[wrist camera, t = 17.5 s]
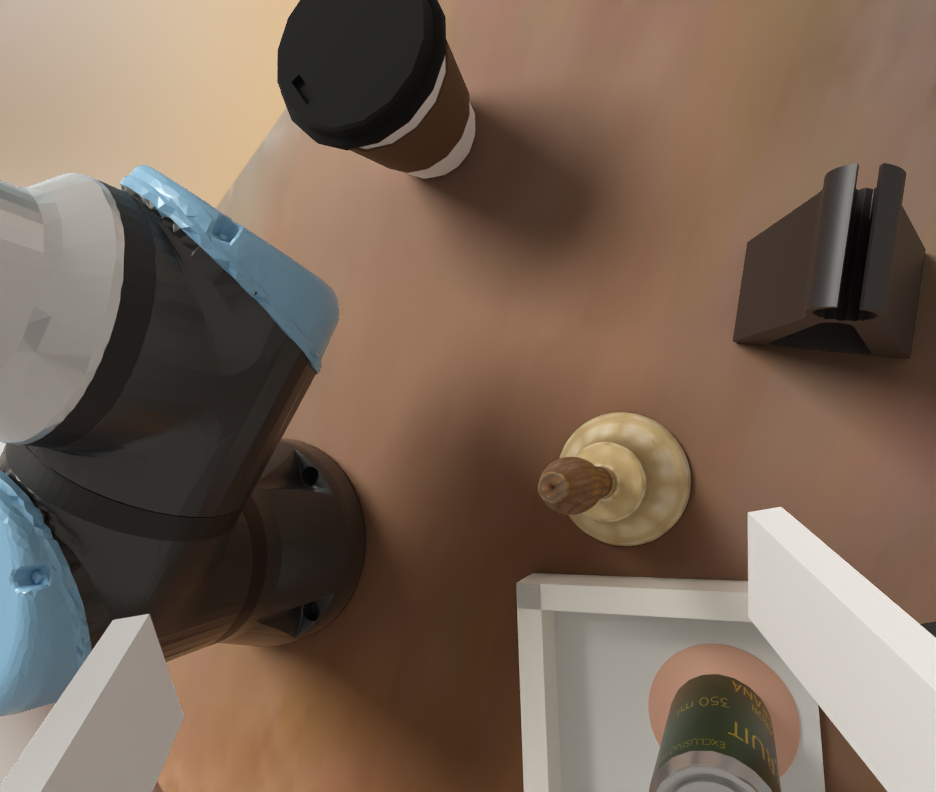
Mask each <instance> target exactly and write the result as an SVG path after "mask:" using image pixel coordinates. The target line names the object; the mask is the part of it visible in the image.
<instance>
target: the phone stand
mask: <svg viewBox="0 0 936 792" xmlns="http://www.w3.org/2000/svg"><path fill="white" fill-rule="evenodd" d="M858 169H859V165H858V163H857V164H850V165H845V166H842V167H838V168H836V169H833V170H831V171H830V172H828V173H827V174H826V176H825V179H824V186H823V189H822V191H821V192H819V193H818V194H817V195H815V196H814V197H812V198H811V199H809V200H808V201H807V202H805V203H804V204H802V205H801V206H799V207H798V208H796V209H795V210H794V211H792V212H791V213H789V214H788V215H786V216H785V217H783V218H782V219H781V220H779V221H778V222H776V223H775V224H773V225H772V226H770V227H769V228H768V229H766V230H765V231H763V232H762V233H760V234H759V235H757V236H756V237H755V238H753V239H752V240H750V241H749V242H747V249H746V256H745V262H744V269H743V276H742V283H741V289H740V296H739V303H738V310H737V317H736V323H735V330H734V337H733V342H738V343H748V344H758V345H768V346H779V347H789V348H800V349H810V350H821V351H831V352H841V353H852V354H862V355H873V356H883V357H894V358H910V354H911V347H912V340H913V333H914V326H915V319H916V312H917V305H918V298H919V291H920V284H921V277H922V270H923V263H924V256H925V248H924V246H923V244H922V242H921V240H920V239H919V237H918V235H917V233H916V231H915V229H914V227H913V225H912V223H911V222H910V220H909V218H908V216H907V214H906V212H905V210H904V208H903V207H902V200H903V193H904V186H905V178H906V172H905V171H904V170H903V169H902V168H900V167H898V166H895V165H891V164H885V163H883V164H882V165H881V166H880V168H879V175H878V182H877V187H876V188H875V189H869V188H863V189H860V190H857V189H856V183H857V176H858Z"/></svg>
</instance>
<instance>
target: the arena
mask: <svg viewBox="0 0 936 792" xmlns="http://www.w3.org/2000/svg"><path fill="white" fill-rule="evenodd" d="M516 592H517V619H518V646H519V673H520V700H521V728H522V755H523V782H524V792H649V788H650V783H651V780H652V776H653V772H654V768H655V764H656V760H657V757H658V753H659V749H660V745H661V741H662V737H663V734H664V730H665V726H666V722H667V718H668V714H669V711H670V707H671V703H672V701H673V699H674V697H675V695H676V693H677V691H678V689H679V688H680V687H682V686H683V685H684V684H685V683H686V682H687V681H688V680H690V679H693V678H695V677H698V676H700V675H706V674H720V675H724V676H728V677H732V678H735V679H737V680H738V681H740V682H742V683H743V684H745V685H747V686H748V687H750V688H751V689H752V690H753V691H754V692H755V693H756V694H757V695H758V696H759V697H760V698H761V700H762V701H763V703H764V705H765V707H766V708H767V710H768V712H769V714H770V717H771V722H772V727H773V731H774V739H775V747H776V754H777V762H778V770H779V777H780V785H781V792H825V782H824V769H823V757H822V744H821V732H820V719H819V707H818V704H817V702H816V701H815V700H814V699H813V697H812V696H811V695H810V694H809V692H808V691H807V690H806V689H805V687H804V686H803V685H802V684H801V682H800V681H799V680H798V679H797V677H796V676H795V675H794V674H793V672H792V671H791V670H790V669H789V667H788V666H787V665H786V664H785V662H784V661H783V660H782V659H781V657H780V656H779V655H778V654H777V652H776V651H775V650H774V649H773V647H772V646H771V645H770V644H769V642H768V641H767V640H766V639H765V637H764V636H763V635H762V634H761V632H760V631H759V630H758V628H757V627H756V626H755V625H754V623H753V622H752V621H751V620H750V618H749V617H748V581H736V580H709V579H681V578H654V577H627V576H600V575H573V574H545V573H532V574H530V575H529V576H527V577H525V578H524V579H522V580H520V581H518V582H517V583H516Z"/></svg>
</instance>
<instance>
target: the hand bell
mask: <svg viewBox="0 0 936 792" xmlns="http://www.w3.org/2000/svg"><path fill="white" fill-rule="evenodd" d="M690 488H691V473H690V467H689V464H688V461H687V458H686V455H685V453H684V451H683V449H682V447H681V446H680V444H679V442H678V441H677V440H676V439H675V437H674V436H673V435H672V434H671V433H670V432H669V431H668V430H667V429H666V428H665V427H663V426H662V425H660V424H659V423H658V422H656V421H654V420H652V419H650V418H647V417H645V416H642V415H639V414H634V413H626V412H615V413H608V414H604V415H600V416H598V417H595V418H593V419H591V420H589V421H587V422H586V423H584V424H583V425H582V426H580V427H579V428H578V429H577V430H576V431H575V432H574V433H573V434H572V435H571V436H570V438H569V439H568V441H567V442H566V444H565V445H564V447H563V449H562V451H561V454H560V457H559V459H557V460H555V461H553V462H552V463H550V464H549V465H548V466H547V467H546V468H545V469H544V471H543V472H542V474H541V476H540V479H539V483H538V492H539V494H540V496H541V498H542V499H543V501H544V502H545V504H546V505H547V506H548V507H549V508H551V509H552V510H554V511H556V512H558V513H561V514H565V515H569V517H570V518H571V520H572V521H573V522H574V523H575V524H576V525H577V526H578V527H579V528H580V529H581V530H582V531H584V532H585V533H586V534H588V535H589V536H591V537H593V538H595V539H596V540H599V541H601V542H604V543H607V544H612V545H617V546H634V545H641V544H644V543H648V542H651V541H653V540H655V539H657V538H659V537H660V536H662V535H663V534H665V533H666V532H667V531H668V530H669V529H671V528H672V527H673V526H674V525H675V523H676V522H677V521H678V520H679V518H680V517H681V515H682V513H683V511H684V509H685V508H686V505H687V502H688V499H689V495H690Z"/></svg>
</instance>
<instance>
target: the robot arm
mask: <svg viewBox="0 0 936 792" xmlns="http://www.w3.org/2000/svg"><path fill="white" fill-rule="evenodd" d="M120 185H121V186H122V187H121V190H119V189H117V188H115V187H112V186H110V185H108V184H106V183H103V182H101V181H99V180H96V179H94V178H92V177H90V176H87V175H84V174H79V173H67V174H63V175H59V176H57V177H54V178H51V179H48V180H46V181H43V182H40V183H37V184H35V185H32V186H29V187H26V188H22V187H16V186H14V185H11V184H9V183H6V182H4V181H1V180H0V441H1V442H3V443H7V444H6V446H5V448H4V450H3V452H2V454H1V457H0V716H5V715H12V714H17V713H21V712H24V711H27V710H31V709H34V708H37V707H41V706H44V705H47V704H51V703H56V704H55V705H54V707H53V708H52V710H51V711H50V712H49V714H48V715H47V717H46V718H45V720H44V721H43V723H42V724H41V726H40V727H39V729H38V730H37V731H36V733H35V734H34V736H33V737H32V739H31V740H30V742H29V743H28V745H27V746H26V748H25V749H24V750H23V752H22V753H21V755H20V756H19V758H18V759H17V761H16V762H15V764H14V765H13V766H12V768H11V769H10V771H9V772H8V774H7V775H6V777H5V778H4V779H3V781H2V782H1V784H0V792H152V791H153V789H154V787H155V784H156V782H157V780H158V777H159V775H160V772H161V770H162V768H163V765H164V763H165V761H166V758H167V756H168V754H169V751H170V749H171V747H172V744H173V742H174V740H175V737H176V735H177V732H178V730H179V728H180V725H181V723H182V721H183V718H184V714H183V711H182V708H181V705H180V702H179V699H178V696H177V693H176V690H175V688H174V685H173V682H172V679H171V676H170V673H169V670H168V667H167V664H166V662H167V661H170V660H173V659H175V658H178V657H180V656H183V655H186V654H188V653H191V652H194V651H197V650H199V649H202V648H205V647H207V646H210V645H213V644H215V643H226V644H238V645H250V646H264V647H269V646H278V645H284V644H288V643H291V642H294V641H297V640H299V639H301V638H304V637H306V636H308V635H311V634H313V633H315V632H317V631H319V630H321V629H322V628H324V627H325V626H327V625H328V624H329V623H330V622H332V621H333V620H334V619H335V618H336V617H337V616H338V615H339V613H340V612H341V611H342V610H343V609H344V607H345V606H346V604H347V603H348V601H349V600H350V598H351V596H352V594H353V592H354V590H355V588H356V586H357V583H358V580H359V577H360V574H361V570H362V565H363V560H364V552H365V530H364V522H363V516H362V512H361V508H360V505H359V501H358V499H357V496H356V494H355V491H354V489H353V487H352V485H351V483H350V482H349V480H348V478H347V477H346V475H345V474H344V472H343V471H342V470H341V468H340V467H339V466H338V465H337V464H336V463H335V462H334V461H333V460H332V459H331V458H330V457H329V456H328V455H326V454H325V453H324V452H322V451H321V450H319V449H317V448H316V447H314V446H312V445H310V444H307V443H305V442H301V441H298V440H293V439H281V438H282V436H283V434H284V432H285V430H286V429H287V427H288V425H289V423H290V421H291V419H292V417H293V416H294V414H295V412H296V410H297V408H298V406H299V404H300V403H301V401H302V399H303V397H304V395H305V393H306V391H307V390H308V388H309V386H310V384H311V382H312V380H313V378H314V377H315V375H316V374H318V373H319V371H320V368H321V367H322V363H321V359H322V356H323V354H324V352H325V350H326V347H327V345H328V343H329V341H330V338H331V336H332V334H333V332H334V330H335V327H336V325H337V323H338V320H339V319H338V317H339V307H338V305H339V304H338V300H337V297H336V295H335V293H334V291H333V290H332V288H331V287H330V286H329V285H328V284H327V283H326V282H324V281H323V280H322V279H321V278H319V277H318V276H316V275H315V274H313V273H312V272H311V271H309V270H308V269H306V268H305V267H303V266H302V265H300V264H299V263H297V262H296V261H294V260H293V259H291V258H290V257H288V256H287V255H285V254H284V253H282V252H281V251H279V250H278V249H276V248H275V247H273V246H272V245H270V244H269V243H267V242H266V241H264V240H263V239H261V238H260V237H258V236H257V235H255V234H253V233H252V232H250V231H249V230H247V229H246V228H244V227H243V226H241V225H239V224H237V223H236V222H234V221H233V220H231V218H229V217H228V216H226V215H224V214H223V213H221V212H220V211H218V210H217V209H215V208H214V207H212V206H211V205H209V204H208V203H207V202H205V201H203V200H202V199H201V198H199V197H198V196H196V195H194V194H193V193H191V192H190V191H188V190H187V189H185V188H184V187H182V186H180V185H179V184H177V183H176V182H174V181H173V180H171V179H170V178H168V177H166V176H165V175H163V174H162V173H160V172H158V171H157V170H155V169H153V168H152V167H149V166H146V165H140V166H138V167H136V168H135V169H134V170H133V171H132V172H131V174H130V175H127V176H125V177H124V180H123V179H122V180H121V183H120ZM748 617H749V618H750V620H751V621H752V622H753V623H754V625H755V626H756V627H757V628H758V630H759V631H760V632H761V634H762V635H763V636H764V637H765V639H766V640H767V641H768V642H769V644H770V645H771V646H772V647H773V649H774V650H775V651H776V652H777V654H778V655H779V656H780V657H781V659H782V660H783V661H784V662H785V664H786V665H787V666H788V667H789V669H790V670H791V671H792V672H793V674H794V675H795V676H796V677H797V679H798V680H799V681H800V682H801V684H802V685H803V686H804V687H805V689H806V690H807V691H808V692H809V694H810V695H811V696H812V697H813V699H814V700H815V701H816V702H817V704H818V705H819V706H820V708H821V709H822V710H823V711H824V713H825V714H826V715H827V716H828V718H829V719H830V720H831V721H832V723H833V724H834V725H835V726H836V728H837V729H838V730H839V731H840V733H841V734H842V735H843V736H844V738H845V739H846V740H847V741H848V743H849V744H850V745H851V746H852V748H853V749H854V750H855V751H856V753H857V754H858V755H859V756H860V758H861V759H862V760H863V761H864V763H865V764H866V765H867V766H868V768H869V769H870V770H871V771H872V773H873V774H874V775H875V776H876V778H877V779H878V780H879V782H880V783H881V784H882V785H883V787H884V788H885V789H886V790H887V792H936V622H930V623H925V624H919V623H918V622H917V621H915V620H914V619H913V618H912V617H911V616H909V615H908V614H907V613H906V612H905V611H904V610H902V609H901V608H900V607H899V606H898V605H896V604H895V603H894V602H893V601H892V600H891V599H889V598H888V597H887V596H886V595H885V594H884V593H882V592H881V591H880V590H879V589H878V588H876V587H875V586H874V585H873V584H872V583H871V582H869V581H868V580H867V579H866V578H865V577H863V576H862V575H861V574H860V573H859V572H858V571H856V570H855V569H854V568H853V567H852V566H851V565H849V564H848V563H847V562H846V561H845V560H843V559H842V558H841V557H840V556H839V555H838V554H836V553H835V552H834V551H833V550H832V549H830V548H829V547H828V546H827V545H826V544H825V543H823V542H822V541H821V540H820V539H819V538H817V537H816V536H815V535H814V534H813V533H812V532H810V531H809V530H808V529H807V528H806V527H805V526H803V525H802V524H801V523H800V522H799V521H797V520H796V519H795V518H794V517H793V516H792V515H790V514H789V513H788V512H787V511H786V510H784V509H783V508H782V507H777V508H771V509H765V510H759V511H753V512H748Z"/></svg>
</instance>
